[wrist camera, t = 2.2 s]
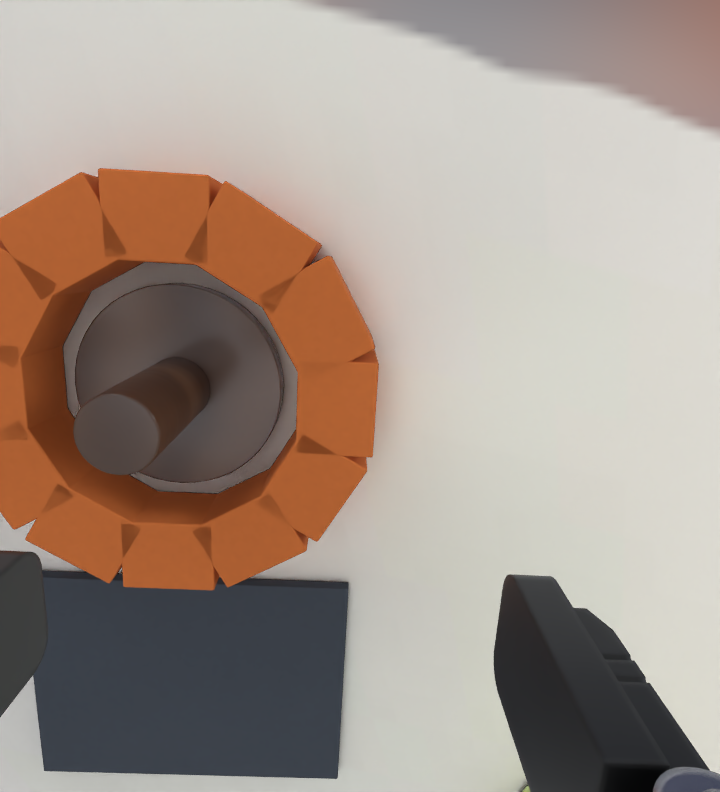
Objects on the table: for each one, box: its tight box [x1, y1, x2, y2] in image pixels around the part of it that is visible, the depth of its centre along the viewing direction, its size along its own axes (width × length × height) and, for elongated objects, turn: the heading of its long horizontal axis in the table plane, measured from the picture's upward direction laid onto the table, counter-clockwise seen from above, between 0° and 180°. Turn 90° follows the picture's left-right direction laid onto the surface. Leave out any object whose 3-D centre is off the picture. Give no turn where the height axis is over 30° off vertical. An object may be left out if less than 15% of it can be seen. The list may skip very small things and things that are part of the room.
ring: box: [0, 168, 379, 590], centre depth 23 cm, size 17×17×3 cm
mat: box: [33, 571, 348, 779], centre depth 28 cm, size 16×12×1 cm
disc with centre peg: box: [73, 283, 284, 483], centre depth 21 cm, size 9×9×8 cm
